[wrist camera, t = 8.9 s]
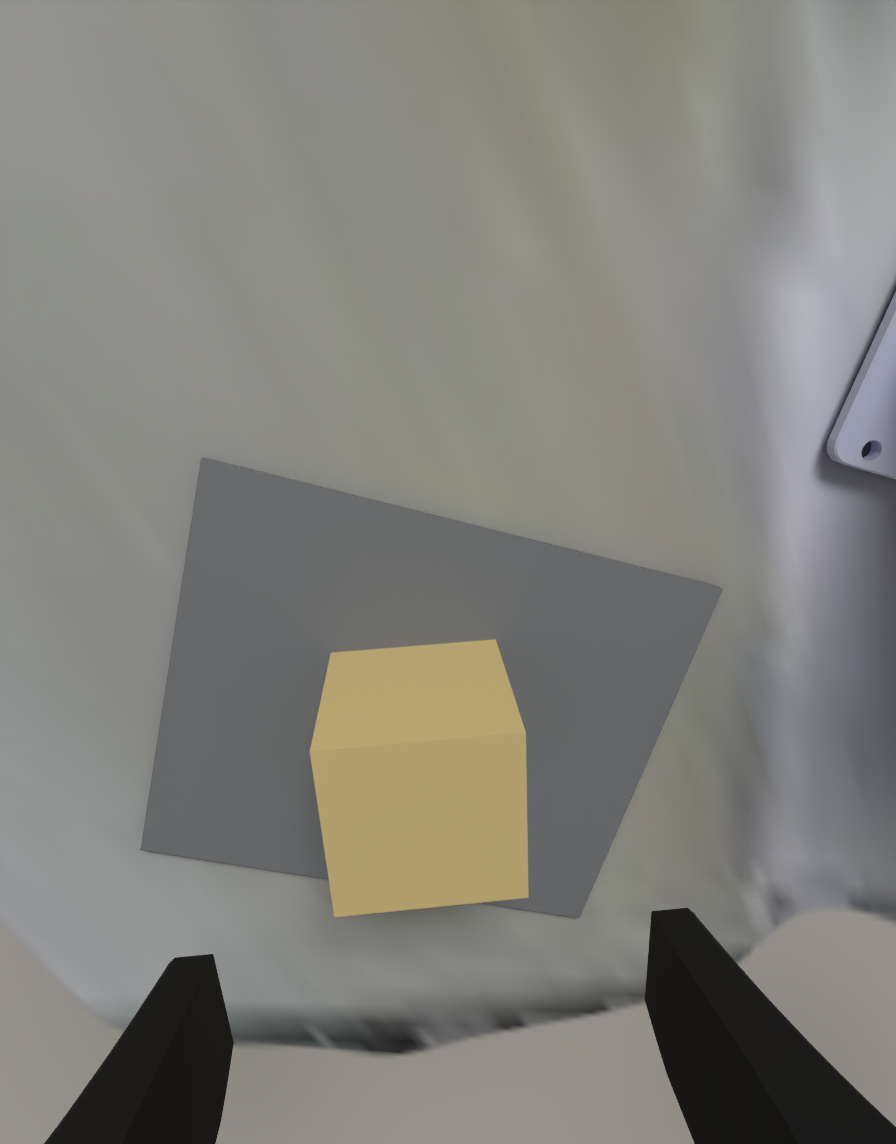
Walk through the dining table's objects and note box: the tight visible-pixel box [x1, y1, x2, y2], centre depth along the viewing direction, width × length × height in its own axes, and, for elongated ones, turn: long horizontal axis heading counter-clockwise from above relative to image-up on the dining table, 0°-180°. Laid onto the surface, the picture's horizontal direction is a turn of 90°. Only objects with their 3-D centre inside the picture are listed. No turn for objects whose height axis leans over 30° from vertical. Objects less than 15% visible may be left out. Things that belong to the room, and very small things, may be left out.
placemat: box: [141, 458, 722, 918], centre depth 19 cm, size 14×12×1 cm
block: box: [310, 639, 529, 917], centre depth 16 cm, size 4×4×4 cm
